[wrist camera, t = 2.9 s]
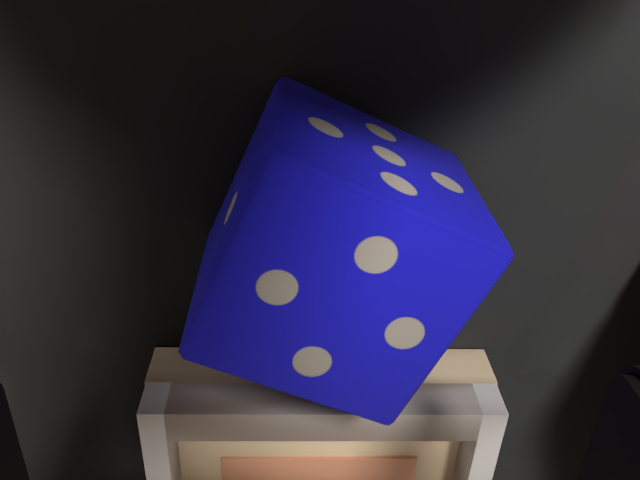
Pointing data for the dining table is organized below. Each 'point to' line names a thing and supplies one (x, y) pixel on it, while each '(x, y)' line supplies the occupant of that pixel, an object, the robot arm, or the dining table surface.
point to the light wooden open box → (317, 427)
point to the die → (341, 258)
